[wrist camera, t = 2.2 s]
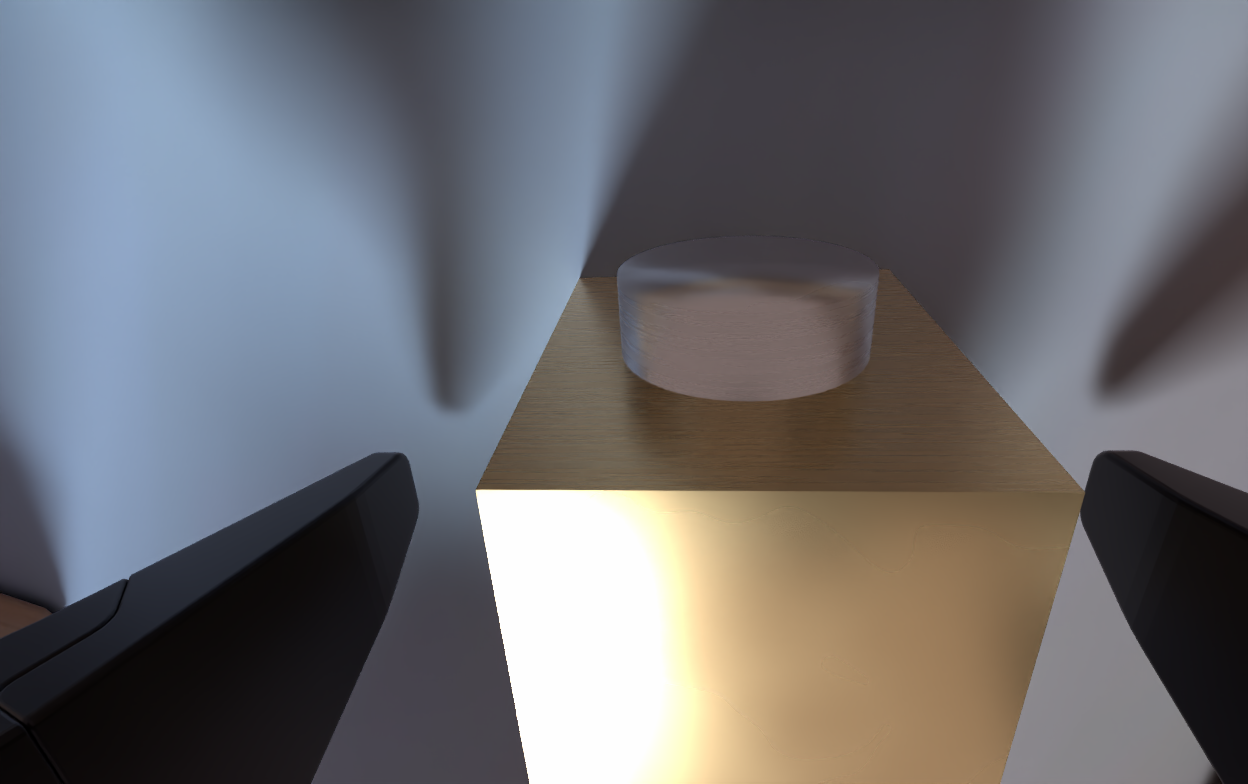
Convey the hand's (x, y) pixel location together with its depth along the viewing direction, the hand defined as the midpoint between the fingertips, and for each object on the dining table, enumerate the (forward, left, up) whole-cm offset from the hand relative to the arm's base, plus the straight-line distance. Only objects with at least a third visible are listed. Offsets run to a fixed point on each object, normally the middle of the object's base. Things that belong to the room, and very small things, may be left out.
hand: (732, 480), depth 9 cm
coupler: (0, 0, -1) cm, 1 cm away
